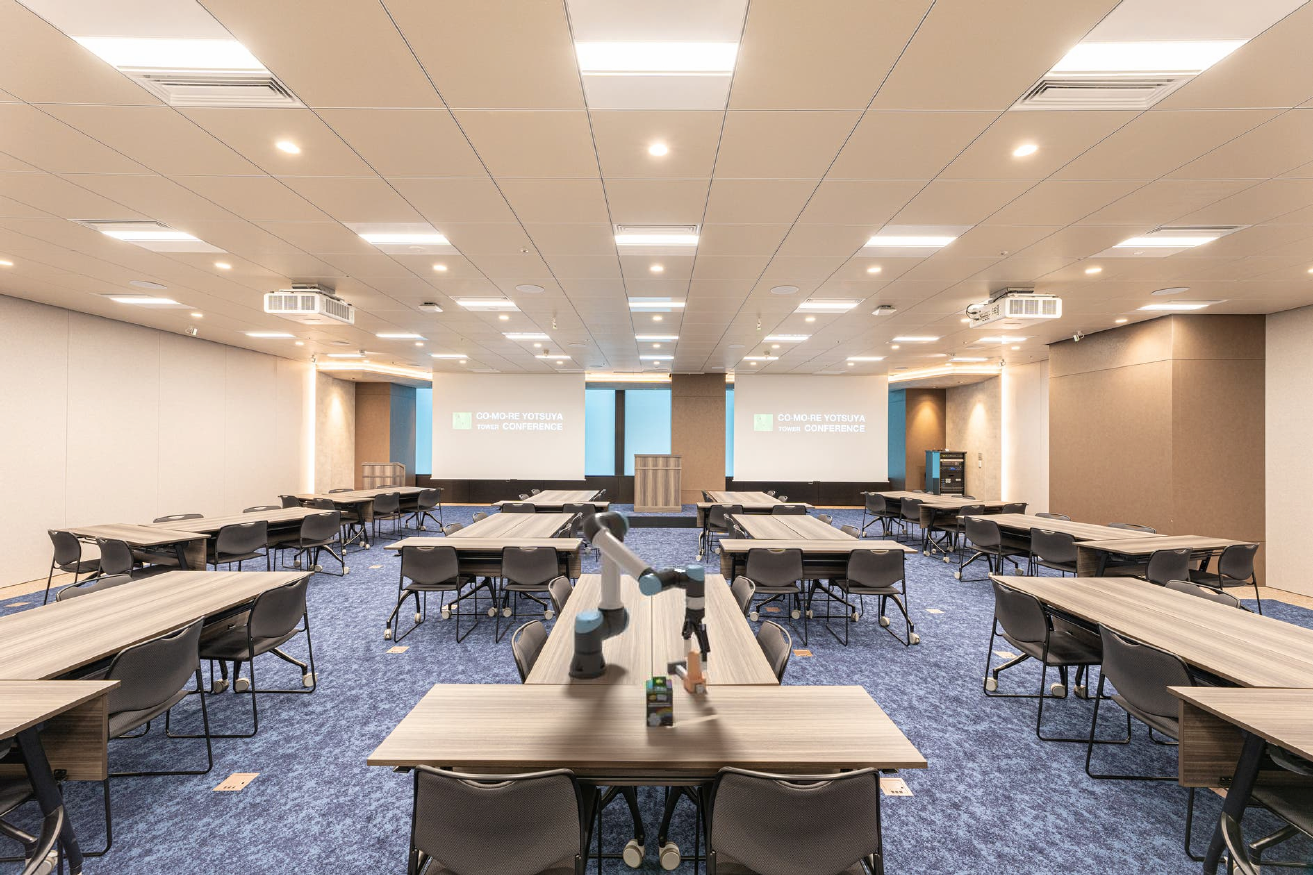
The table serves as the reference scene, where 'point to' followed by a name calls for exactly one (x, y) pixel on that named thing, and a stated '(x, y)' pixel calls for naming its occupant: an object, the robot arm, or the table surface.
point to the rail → (682, 672)
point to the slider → (694, 672)
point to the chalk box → (659, 702)
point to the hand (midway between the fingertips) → (695, 662)
